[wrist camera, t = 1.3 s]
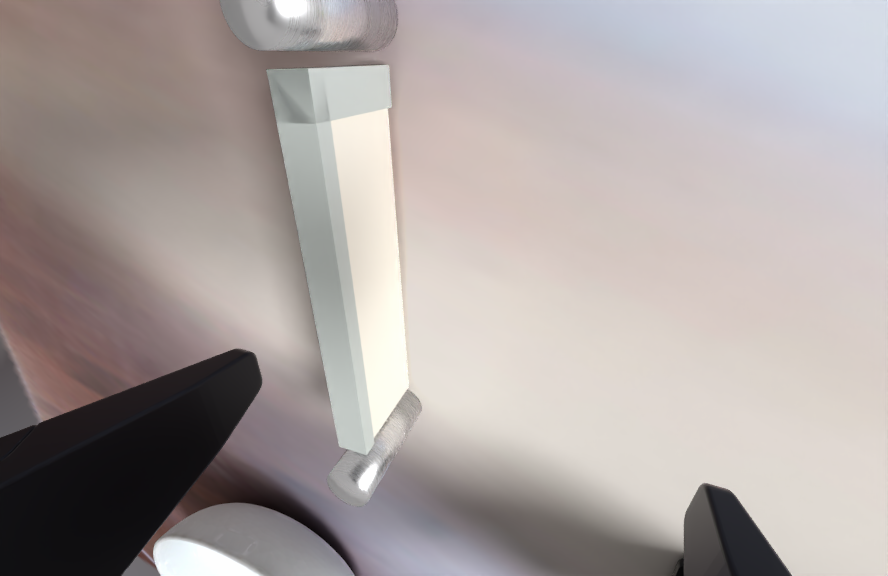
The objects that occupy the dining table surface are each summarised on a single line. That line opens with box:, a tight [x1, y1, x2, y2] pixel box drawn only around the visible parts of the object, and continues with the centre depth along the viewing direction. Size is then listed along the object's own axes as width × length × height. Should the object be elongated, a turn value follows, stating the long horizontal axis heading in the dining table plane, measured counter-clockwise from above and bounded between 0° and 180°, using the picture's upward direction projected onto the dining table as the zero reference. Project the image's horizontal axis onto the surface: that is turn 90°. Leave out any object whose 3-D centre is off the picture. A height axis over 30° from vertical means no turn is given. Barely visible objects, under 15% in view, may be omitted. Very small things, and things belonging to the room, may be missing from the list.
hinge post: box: [327, 390, 422, 507], centre depth 24 cm, size 2×2×6 cm
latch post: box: [220, 0, 398, 51], centre depth 15 cm, size 2×2×6 cm
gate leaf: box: [266, 65, 409, 455], centre depth 20 cm, size 17×2×5 cm, turn 1°
